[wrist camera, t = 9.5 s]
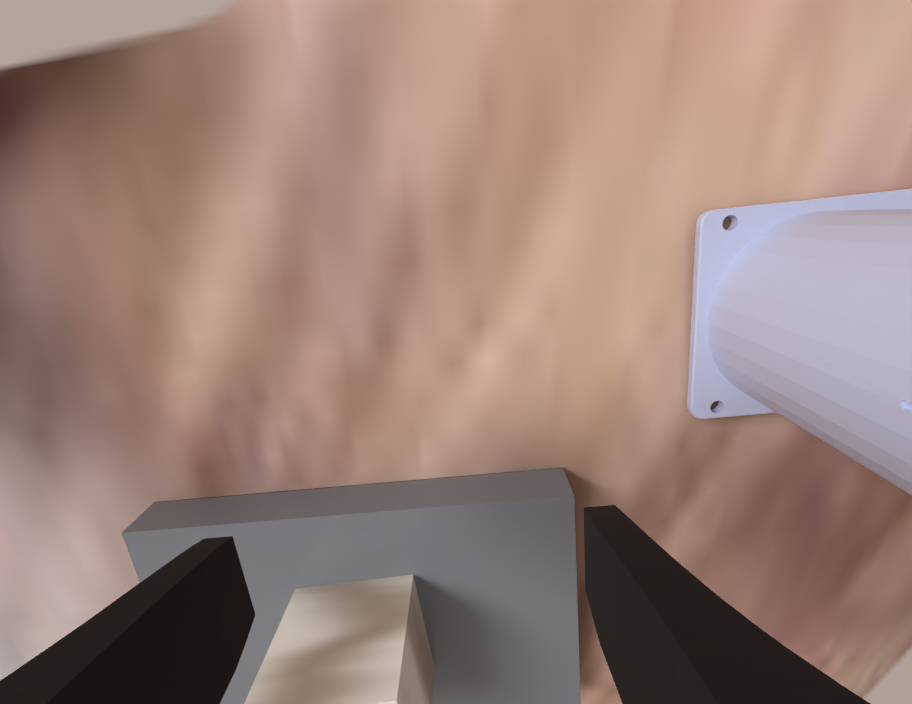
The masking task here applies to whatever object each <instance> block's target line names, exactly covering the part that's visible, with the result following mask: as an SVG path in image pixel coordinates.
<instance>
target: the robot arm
mask: <svg viewBox="0 0 912 704" xmlns="http://www.w3.org/2000/svg"><path fill="white" fill-rule="evenodd" d="M727 216H729V217H730V218H731V225H730V227H729V228H728V229H726V230H725V229H724V228H723V225H722V223H723V220H724V219H725V218H726V217H727ZM715 401H718V405H717V406H716V407H715V408H713V409H710V407H711V404H712V403H713V402H715ZM687 408H688V411H689V412H690V414H691V415H693V416H694V417H696V418H697V419H711V418H723V417H734V416H746V415H757V414H768V413H778V414H779V415H781V416H783V417H784V418H786V419H787V420H789V421H791V422H792V423H794V424H796V425H797V426H799V427H800V428H802V429H804V430H805V431H807V432H809V433H810V434H812V435H813V436H815V437H817V438H818V439H820V440H822V441H823V442H825V443H826V444H828V445H830V446H831V447H833V448H835V449H836V450H838V451H840V452H841V453H843V454H844V455H846V456H848V457H849V458H851V459H853V460H854V461H856V462H857V463H859V464H861V465H862V466H864V467H866V468H867V469H869V470H870V471H872V472H874V473H875V474H877V475H879V476H880V477H882V478H883V479H885V480H887V481H888V482H890V483H892V484H893V485H895V486H896V487H898V488H900V489H901V490H903V491H905V492H906V493H908V494H910V495H911V496H912V189H903V190H893V191H884V192H874V193H865V194H855V195H846V196H836V197H827V198H817V199H807V200H798V201H788V202H779V203H769V204H760V205H750V206H741V207H731V208H722V209H712V210H708V211H705V212H704V213H703V214H701V215H700V217H699V218H698V220H697V224H696V236H695V256H694V276H693V296H692V316H691V336H690V356H689V376H688V397H687ZM584 540H585V583H586V593H587V597H588V601H589V605H590V608H591V612H592V616H593V620H594V623H595V627H596V631H597V634H598V638H599V641H600V645H601V647H602V650H603V653H604V655H605V658H606V661H607V663H608V666H609V669H610V671H611V674H612V677H613V679H614V682H615V684H616V687H617V690H618V692H619V695H620V698H621V700H622V703H623V704H870V703H868V702H867V701H865V700H864V699H862V698H861V697H859V696H857V695H856V694H854V693H853V692H851V691H850V690H848V689H847V688H845V687H843V686H842V685H840V684H839V683H837V682H836V681H835V680H833V679H832V678H830V677H829V676H827V675H826V674H824V673H823V672H821V671H820V670H818V669H817V668H815V667H814V666H813V665H811V664H810V663H808V662H807V661H805V660H804V659H802V658H801V657H799V656H798V655H796V654H795V653H794V652H792V651H791V650H789V649H788V648H786V647H785V646H783V645H782V644H781V643H779V642H778V641H777V640H775V639H774V638H772V637H771V636H770V635H768V634H767V633H765V632H764V631H763V630H761V629H760V628H759V627H757V626H756V625H755V624H754V623H752V622H751V621H750V620H748V619H747V618H746V617H744V616H743V615H742V614H741V613H739V612H738V611H737V610H735V609H734V608H733V607H731V606H730V605H729V604H728V603H726V602H725V601H724V600H722V599H721V598H720V597H719V596H718V595H716V594H715V593H714V592H713V591H711V590H710V589H709V588H708V587H707V586H705V585H704V584H703V583H702V582H701V581H699V580H698V579H697V578H696V577H695V576H694V575H692V574H691V573H690V572H689V571H688V570H686V569H685V568H684V567H683V566H682V565H681V564H679V563H678V562H677V561H676V560H675V559H674V558H672V557H671V556H670V555H669V554H668V553H667V552H666V551H665V550H663V549H662V548H661V547H660V546H659V545H658V544H657V543H656V542H655V541H653V540H652V539H651V538H650V537H649V536H648V535H647V534H646V533H645V532H644V531H642V530H641V529H640V528H639V527H638V526H637V525H636V524H635V523H634V522H633V521H632V520H631V519H629V518H628V517H627V516H626V515H625V514H624V513H623V512H622V511H621V510H619V509H618V508H617V507H616V506H615V505H611V506H599V507H586V508H584ZM254 617H255V611H254V608H253V605H252V601H251V598H250V594H249V591H248V587H247V584H246V581H245V577H244V574H243V570H242V567H241V563H240V560H239V557H238V553H237V550H236V546H235V543H234V539H233V536H229V537H217V538H205V539H203V540H201V541H199V542H198V543H196V544H195V545H193V546H191V547H190V548H188V549H187V550H185V551H184V552H182V553H181V554H180V555H178V556H177V557H175V558H174V559H172V560H171V561H170V562H168V563H167V564H165V565H164V566H163V567H161V568H160V569H159V570H157V571H156V572H154V573H153V574H152V575H150V576H149V577H147V578H146V579H145V580H143V581H142V582H141V583H139V584H138V585H136V586H135V587H134V588H132V589H131V590H130V591H128V592H127V593H125V594H124V595H123V596H121V597H120V598H119V599H117V600H116V601H114V602H113V603H112V604H110V605H109V606H107V607H106V608H105V609H103V610H102V611H101V612H99V613H98V614H96V615H95V616H94V617H92V618H91V619H90V620H88V621H87V622H85V623H84V624H83V625H81V626H80V627H78V628H77V629H75V630H74V631H72V632H71V633H69V634H68V635H67V636H65V637H64V638H62V639H61V640H59V641H58V642H56V643H55V644H53V645H52V646H51V647H49V648H48V649H46V650H45V651H43V652H42V653H40V654H39V655H38V656H36V657H35V658H33V659H32V660H30V661H29V662H27V663H26V664H24V665H23V666H22V667H20V668H19V669H17V670H16V671H14V672H13V673H11V674H10V675H8V676H7V677H5V678H4V679H2V680H1V681H0V704H220V702H221V700H222V698H223V696H224V694H225V692H226V690H227V688H228V686H229V683H230V681H231V679H232V677H233V675H234V673H235V671H236V668H237V666H238V663H239V660H240V658H241V655H242V652H243V649H244V647H245V644H246V641H247V638H248V635H249V632H250V629H251V626H252V623H253V620H254Z"/></svg>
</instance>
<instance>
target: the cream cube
mask: <svg viewBox="0 0 912 704" xmlns="http://www.w3.org/2000/svg"><path fill="white" fill-rule="evenodd" d="M433 678H434V663H433V658H432V654H431V649H430V645H429V641H428V636H427V632H426V628H425V623H424V619H423V615H422V610H421V606H420V602H419V597H418V593H417V589H416V584H415V580H414V575H413V574H412V575H404V576H396V577H388V578H380V579H372V580H363V581H355V582H347V583H339V584H331V585H323V586H315V587H307V588H299V589H295V590H294V593H293V595H292V597H291V599H290V602H289V604H288V606H287V608H286V611H285V613H284V615H283V617H282V620H281V622H280V624H279V626H278V629H277V631H276V633H275V635H274V638H273V640H272V642H271V644H270V647H269V649H268V651H267V653H266V656H265V658H264V660H263V662H262V665H261V667H260V669H259V671H258V674H257V676H256V678H255V680H254V683H253V685H252V687H251V689H250V692H249V694H248V696H247V698H246V701H245V703H244V704H432V695H433Z"/></svg>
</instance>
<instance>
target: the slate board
mask: <svg viewBox="0 0 912 704" xmlns="http://www.w3.org/2000/svg"><path fill="white" fill-rule="evenodd" d="M122 535H123V538H124V540H125V543H126V546H127V548H128V551H129V554H130V556H131V559H132V562H133V564H134V567H135V570H136V572H137V575H138V578H139V580H140V583H141V582H142V581H143V580H145V579H146V578H147V577H149V576H150V575H152V574H153V573H154V572H156V571H157V570H159V569H160V568H161V567H163V566H164V565H165V564H167V563H168V562H170V561H171V560H172V559H174V558H175V557H177V556H178V555H180V554H181V553H182V552H184V551H185V550H187V549H188V548H190V547H191V546H193V545H195V544H196V543H198V542H199V541H201V540H203V539H205V538H217V537H229V536H233V539H234V543H235V546H236V550H237V553H238V557H239V560H240V563H241V567H242V570H243V574H244V577H245V581H246V584H247V587H248V591H249V594H250V598H251V601H252V605H253V608H254V611H255V617H254V620H253V623H252V626H251V629H250V632H249V635H248V638H247V641H246V644H245V647H244V649H243V652H242V655H241V658H240V660H239V663H238V666H237V668H236V671H235V673H234V675H233V677H232V679H231V681H230V683H229V686H228V688H227V690H226V692H225V694H224V696H223V698H222V700H221V702H220V704H244V703H245V701H246V698H247V696H248V694H249V692H250V689H251V687H252V685H253V683H254V680H255V678H256V676H257V674H258V671H259V669H260V667H261V665H262V662H263V660H264V658H265V656H266V653H267V651H268V649H269V647H270V644H271V642H272V640H273V638H274V635H275V633H276V631H277V629H278V626H279V624H280V622H281V620H282V617H283V615H284V613H285V611H286V608H287V606H288V604H289V602H290V599H291V597H292V595H293V593H294V590H295V589H299V588H307V587H315V586H323V585H331V584H339V583H347V582H355V581H363V580H372V579H380V578H388V577H396V576H404V575H412V574H413V575H414V580H415V584H416V589H417V593H418V597H419V602H420V606H421V610H422V615H423V619H424V623H425V628H426V632H427V636H428V641H429V645H430V649H431V654H432V658H433V663H434V678H433V695H432V704H581V699H580V666H579V633H578V600H577V567H576V534H575V501H574V494H573V491H572V489H571V486H570V484H569V481H568V479H567V477H566V474H565V472H564V469H563V468H554V469H543V470H531V471H519V472H507V473H495V474H484V475H472V476H460V477H448V478H436V479H425V480H413V481H401V482H389V483H377V484H366V485H354V486H342V487H330V488H318V489H307V490H295V491H283V492H271V493H259V494H248V495H236V496H224V497H212V498H200V499H189V500H177V501H165V502H154V503H153V504H152V505H151V506H150V507H149V508H148V509H147V510H146V511H145V512H144V513H143V514H141V515H140V516H139V517H138V518H137V519H136V520H135V521H134V522H133V523H132V524H131V525H130V526H129V527H128V528H126V529H125V530H124V531H123V532H122Z"/></svg>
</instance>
